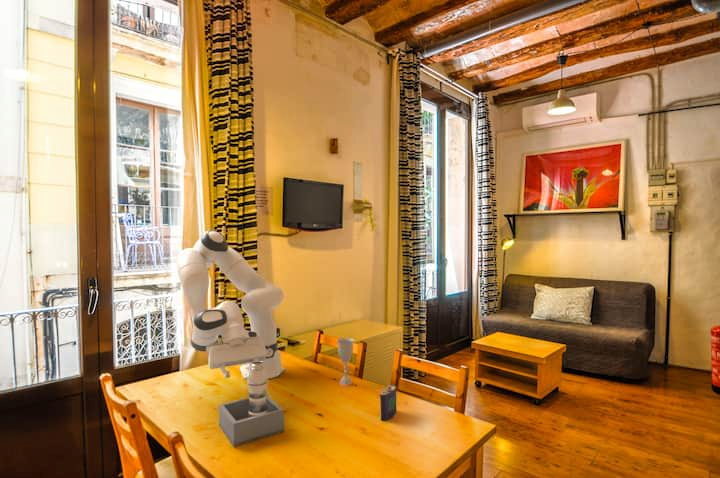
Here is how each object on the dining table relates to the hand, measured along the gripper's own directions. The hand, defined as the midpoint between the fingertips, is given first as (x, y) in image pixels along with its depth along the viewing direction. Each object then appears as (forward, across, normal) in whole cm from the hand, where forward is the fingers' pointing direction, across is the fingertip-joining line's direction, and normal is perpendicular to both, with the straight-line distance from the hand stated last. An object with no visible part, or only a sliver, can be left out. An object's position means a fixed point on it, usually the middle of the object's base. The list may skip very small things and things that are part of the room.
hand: (241, 374), depth 140 cm
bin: (+18, 0, +1) cm, 19 cm away
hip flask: (+30, +43, -10) cm, 53 cm away
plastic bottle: (+18, +2, 0) cm, 18 cm away
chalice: (+5, +44, +15) cm, 47 cm away
